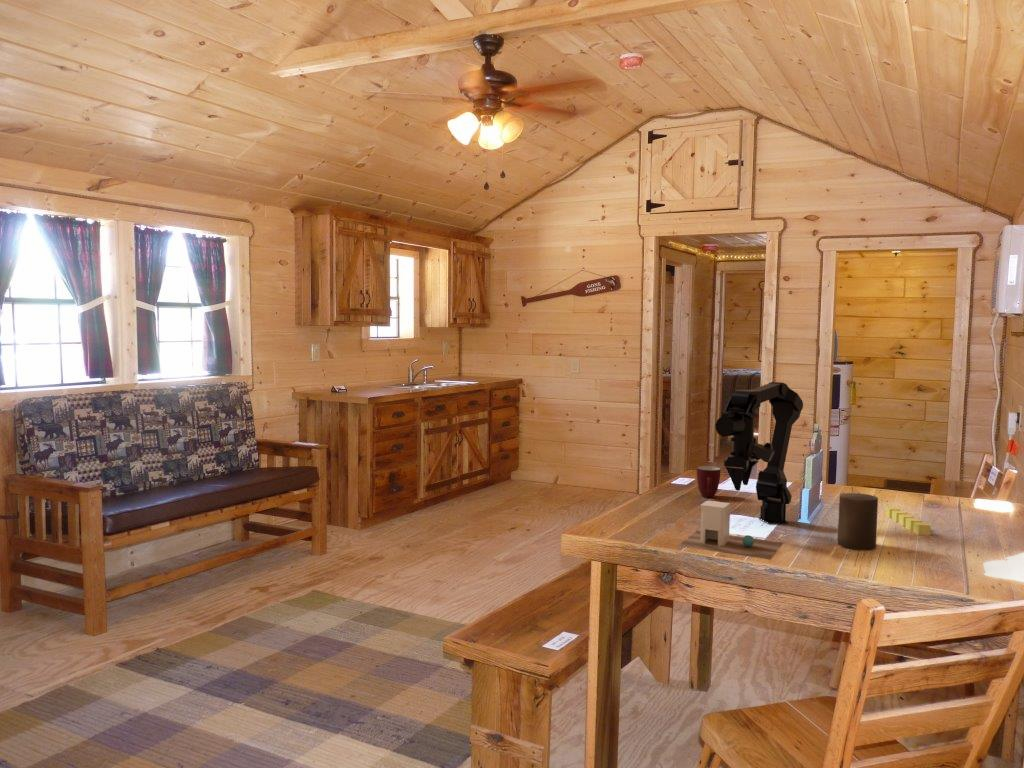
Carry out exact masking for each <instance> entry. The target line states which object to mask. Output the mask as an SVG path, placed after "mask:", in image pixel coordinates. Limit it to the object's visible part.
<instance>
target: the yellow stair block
mask: <svg viewBox="0 0 1024 768" xmlns="http://www.w3.org/2000/svg"><path fill="white" fill-rule="evenodd" d="M885 515H886V516H887V517H886V516H885ZM884 516H885V517H886V518H888V517H889V518H892V519H893V520H894V521H893V520H892V519H891V520H892V521H893V522H895V521H896V522H895V523H899V524H898V525H900V524H901V525H900V526H902V527H906V529H907V530H908V531H911V532H913V533H915V534H916V535H918V536H931V524H928V523H927V522H923V520H921V519H919V518H916V517H915V516H913V515H911V514H908V513H907V512H906V511H904V510H901V509H900V508H899V507H896V506H885V508H884ZM889 518H888V519H889Z"/></svg>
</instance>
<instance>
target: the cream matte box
mask: <svg viewBox="0 0 1024 768" xmlns="http://www.w3.org/2000/svg"><path fill="white" fill-rule="evenodd" d="M730 521H731V502H722V501H715V500H714V501H713V500H706V501H704V502H702V503H701V504H700V531H701V537H700V542H702V543H703V544H705V541H706V540H707V539H714V540H718V546H721V545H723V546H724V545H725V544H726V543H727V542H728V541H729V535H730V527H731V526H730Z"/></svg>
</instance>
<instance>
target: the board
mask: <svg viewBox="0 0 1024 768" xmlns="http://www.w3.org/2000/svg"><path fill="white" fill-rule="evenodd" d="M700 537H701V530H696V531H695V532H693V533H692V534H691V535H689V536H688V537H687V538H686V539H684V540H683V541H682V542H681V543H679V544H678V545H677V546H678V547H683V548H688V549H689V548H691V549H697V550H702V551H703V550H704V551H710V552H715V553H716V552H717V553H724V554H729V555H730V554H731V555H737V556H744V557H750V558H758V559H763V560H772V558H773V556H774V555H775V554H776V553H777V552H778V550H779V549H780V548H781V547H782V546H783V544H784V542H780V541H773V540H768V539H767V540H766V539H760V538H753V539H754V544H753V545H752V546H750V547H747V546H745V545H744V544H743V542H742V540H743V537H744V536H739V535H730V534H729V541H728V542H727V543H726V544H725V545H724V546H723V545H721V546H718V540H714V539H707V540H706V541H705V544H703V543H702V542H700Z"/></svg>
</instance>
